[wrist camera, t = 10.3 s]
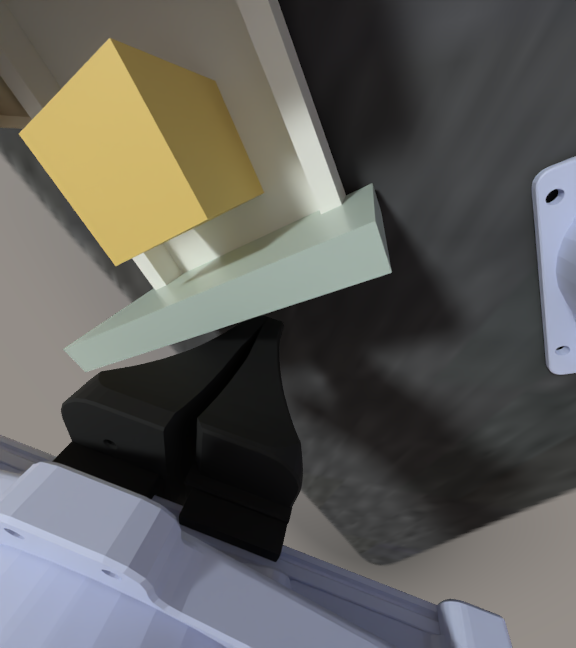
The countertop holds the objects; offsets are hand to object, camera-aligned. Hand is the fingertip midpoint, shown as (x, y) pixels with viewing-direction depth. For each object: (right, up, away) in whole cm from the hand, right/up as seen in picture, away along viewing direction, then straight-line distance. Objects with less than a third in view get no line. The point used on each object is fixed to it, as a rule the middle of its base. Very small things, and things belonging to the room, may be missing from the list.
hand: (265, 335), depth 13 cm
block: (-3, +7, -1) cm, 8 cm away
